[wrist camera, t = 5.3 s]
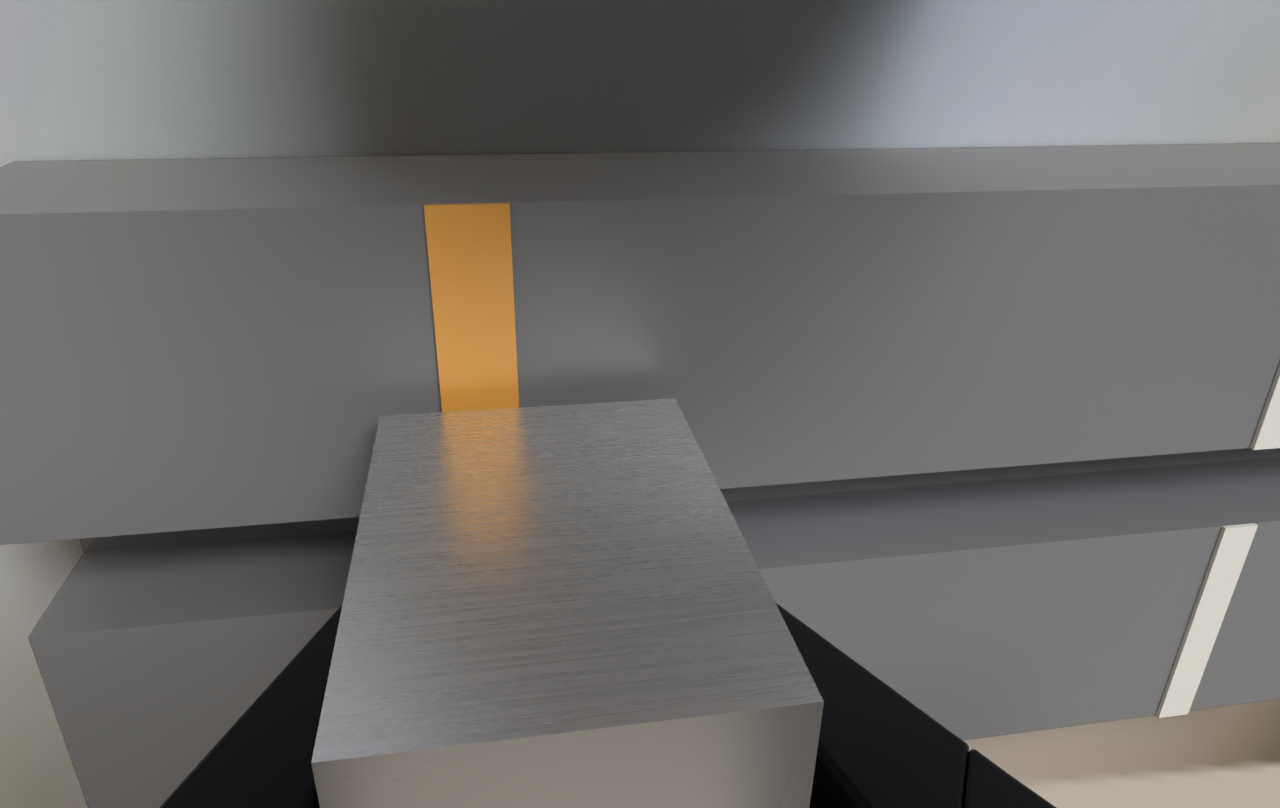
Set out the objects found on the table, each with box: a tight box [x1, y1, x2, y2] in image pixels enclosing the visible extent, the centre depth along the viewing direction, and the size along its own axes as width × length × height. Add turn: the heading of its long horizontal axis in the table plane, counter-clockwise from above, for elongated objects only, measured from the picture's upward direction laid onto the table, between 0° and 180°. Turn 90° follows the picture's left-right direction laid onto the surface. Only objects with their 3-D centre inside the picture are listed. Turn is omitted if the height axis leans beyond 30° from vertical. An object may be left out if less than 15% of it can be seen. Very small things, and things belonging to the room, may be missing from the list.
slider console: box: [0, 143, 1280, 808], centre depth 12 cm, size 20×8×3 cm, turn 89°
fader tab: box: [311, 398, 824, 808], centre depth 9 cm, size 3×4×6 cm
